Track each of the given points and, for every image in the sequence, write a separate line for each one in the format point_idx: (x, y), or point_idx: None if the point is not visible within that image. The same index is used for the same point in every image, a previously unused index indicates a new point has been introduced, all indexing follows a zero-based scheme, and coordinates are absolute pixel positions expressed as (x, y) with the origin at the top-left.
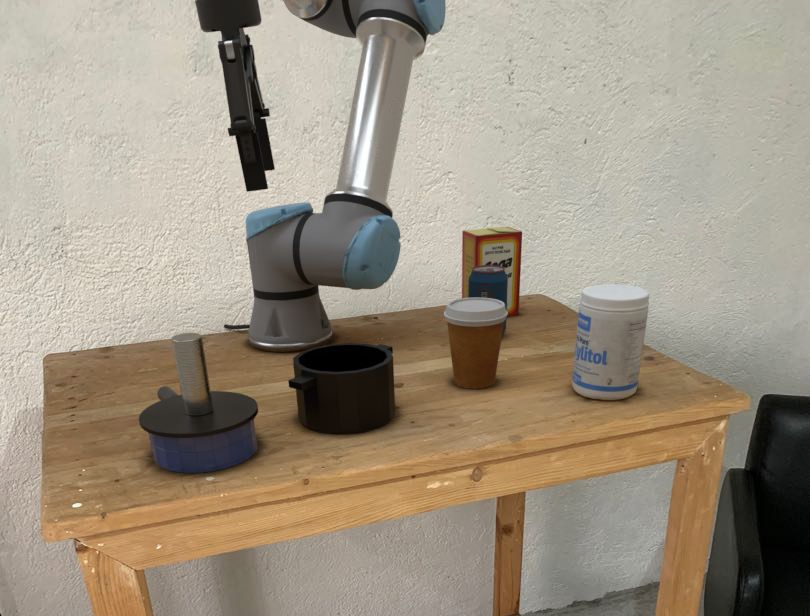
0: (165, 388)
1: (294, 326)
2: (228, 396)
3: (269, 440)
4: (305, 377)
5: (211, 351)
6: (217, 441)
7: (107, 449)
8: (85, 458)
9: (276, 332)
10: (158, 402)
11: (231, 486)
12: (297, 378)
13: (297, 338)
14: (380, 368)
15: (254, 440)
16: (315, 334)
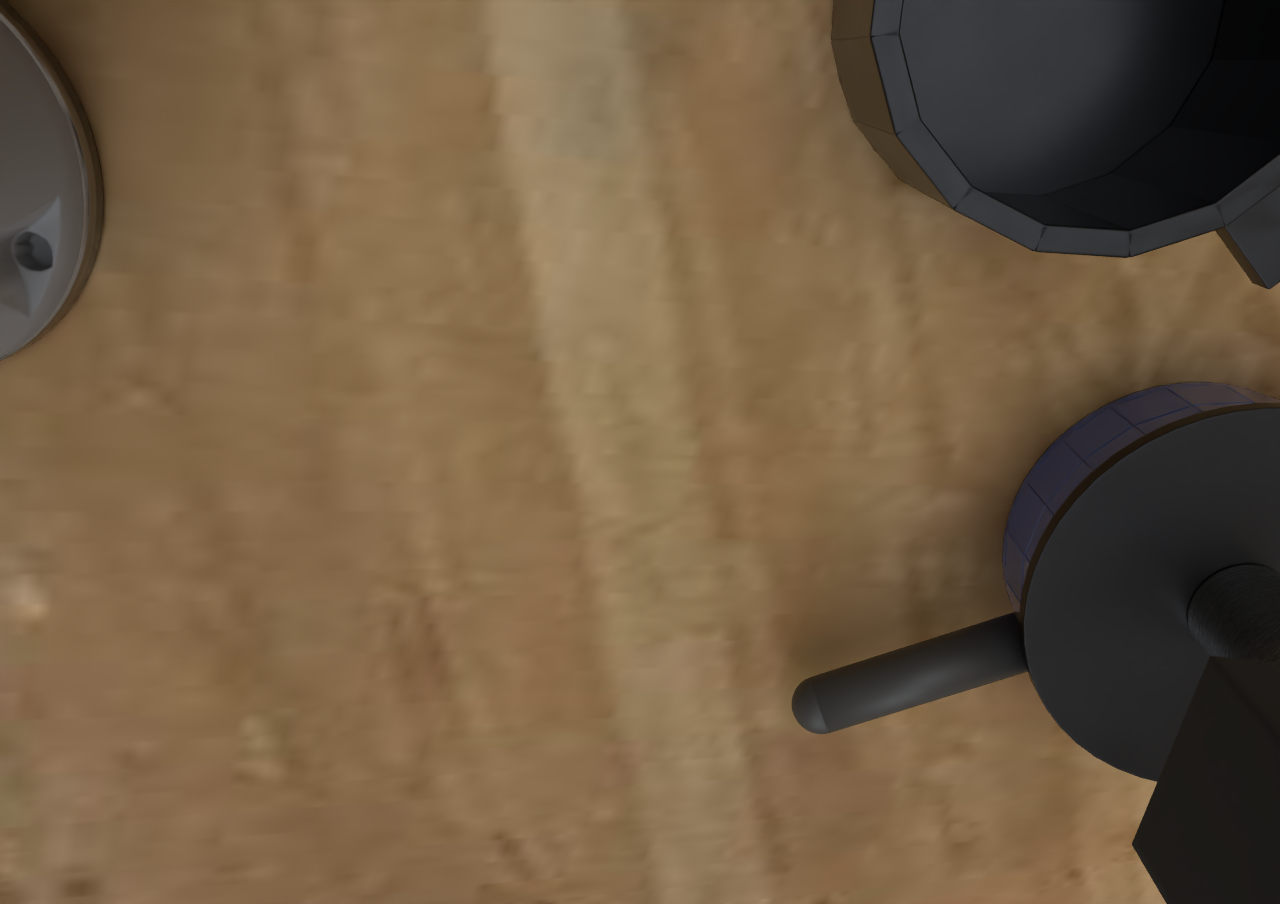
0: (847, 715)
1: (11, 163)
2: (1127, 510)
3: (1163, 337)
4: (1270, 210)
5: (43, 530)
6: None
7: (1026, 810)
8: (1072, 857)
9: (6, 255)
10: (1085, 738)
11: None
12: (1265, 247)
13: (60, 149)
14: None
15: (1265, 399)
16: (3, 45)
